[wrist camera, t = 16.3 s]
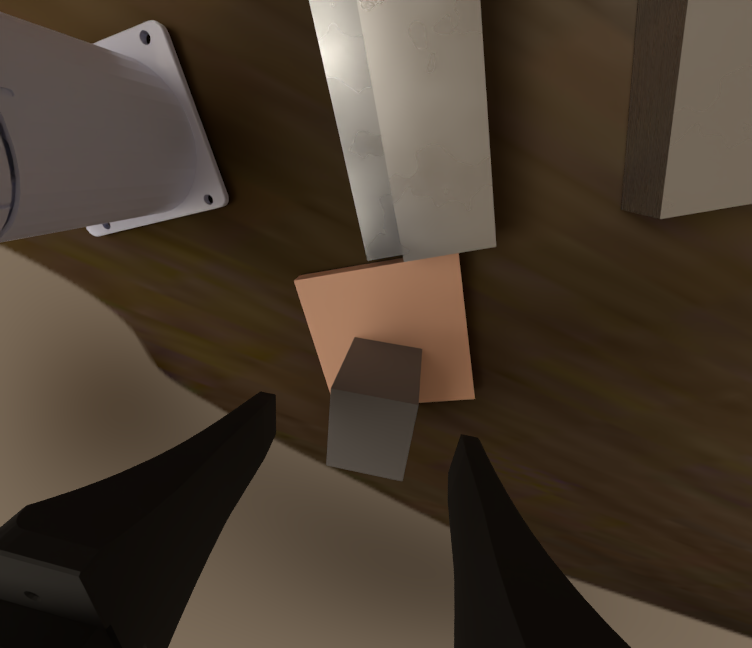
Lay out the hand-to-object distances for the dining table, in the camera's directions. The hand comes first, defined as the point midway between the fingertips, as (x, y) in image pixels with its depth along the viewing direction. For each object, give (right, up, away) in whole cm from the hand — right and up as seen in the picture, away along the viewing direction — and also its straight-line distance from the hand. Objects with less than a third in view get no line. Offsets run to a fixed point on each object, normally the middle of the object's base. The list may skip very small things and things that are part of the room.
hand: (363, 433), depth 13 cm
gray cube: (+1, +1, +8) cm, 8 cm away
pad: (+1, +4, +7) cm, 8 cm away
